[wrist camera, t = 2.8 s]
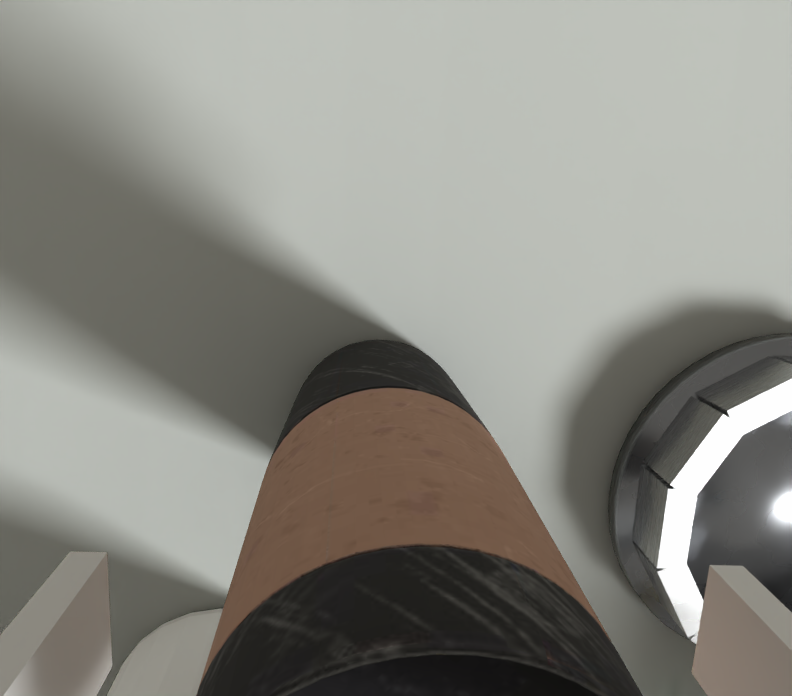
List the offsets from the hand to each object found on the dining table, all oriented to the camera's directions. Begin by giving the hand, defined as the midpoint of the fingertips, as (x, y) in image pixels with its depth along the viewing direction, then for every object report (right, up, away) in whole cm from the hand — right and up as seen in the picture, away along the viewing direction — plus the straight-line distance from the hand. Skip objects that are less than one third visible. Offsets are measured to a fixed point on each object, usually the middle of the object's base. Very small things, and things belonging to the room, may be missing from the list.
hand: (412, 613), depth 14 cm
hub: (+17, -1, +16) cm, 23 cm away
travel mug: (-1, +3, +14) cm, 14 cm away
